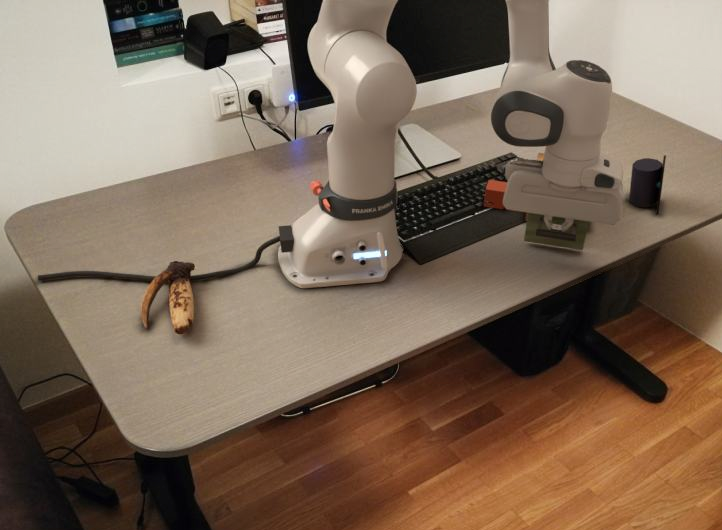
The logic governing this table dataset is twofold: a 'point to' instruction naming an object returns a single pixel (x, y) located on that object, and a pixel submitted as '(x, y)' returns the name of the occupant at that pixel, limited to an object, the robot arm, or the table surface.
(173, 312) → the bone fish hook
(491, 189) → the block
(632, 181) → the speaker
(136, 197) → the table surface
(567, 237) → the drawer
